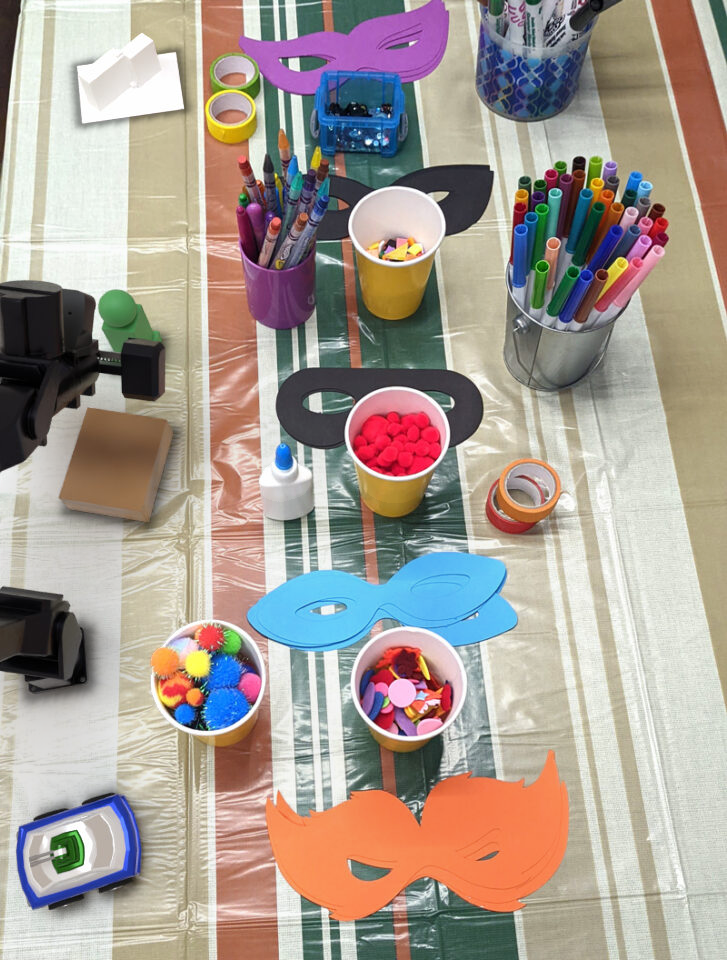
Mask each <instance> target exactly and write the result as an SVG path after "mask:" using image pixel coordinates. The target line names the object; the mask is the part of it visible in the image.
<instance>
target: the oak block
mask: <svg viewBox="0 0 727 960" xmlns="http://www.w3.org/2000/svg"><path fill="white" fill-rule="evenodd" d="M173 437H174V432H173V429H172V427H171V425H170V424H169V421H168V419H166V418H159V417H152V416H149V415H148V416H147V415H141V414H135V413H128V412H122V411H121V412H120V411H116V410H109V409H103V408H96V407H90V406H87V407H86V409H85V413H84V416H83V420H82V423H81V426H80V429H79V432H78V435H77V438H76V441H75V444H74V448H73V451H72V454H71V456H70V460H69V464H68V467H67V470H66V472H65V476H64V480H63V482H62V486H61V489H60V491H59V495H58V499H59V500H60V501H61V503H63V504H64V506H66V508H67V509H68V510H73V511H78V512H84V513H90V514H96V515H102V516H107V517H108V516H109V517H115V518H120V519H127V520H132V521H137V522H145V523H149V522H150V519H151V517H152V513H153V509H154V505H155V501H156V498H157V495H158V491H159V487H160V483H161V480H162V477H163V472H164V470H165V469H164V468H165V465H166V461H167V459H168V454H169V451H170V446H171V444H172V439H173Z"/></svg>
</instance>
